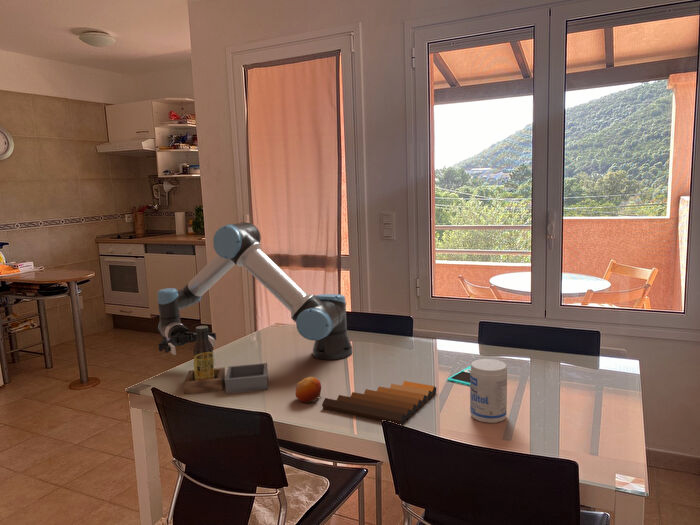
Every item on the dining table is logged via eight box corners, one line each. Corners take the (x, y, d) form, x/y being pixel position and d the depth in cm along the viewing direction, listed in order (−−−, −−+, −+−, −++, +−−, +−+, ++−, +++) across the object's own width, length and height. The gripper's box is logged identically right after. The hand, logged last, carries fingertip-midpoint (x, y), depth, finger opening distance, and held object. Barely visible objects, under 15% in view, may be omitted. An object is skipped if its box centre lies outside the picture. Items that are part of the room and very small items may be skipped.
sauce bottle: (197, 390, 172) (192, 330, 170) (193, 384, 178) (188, 326, 175) (217, 385, 175) (212, 327, 172) (213, 380, 181) (208, 323, 178)
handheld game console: (498, 373, 176) (498, 369, 175) (474, 389, 164) (474, 384, 164) (471, 368, 182) (471, 364, 182) (446, 382, 170) (446, 378, 170)
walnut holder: (225, 377, 183) (224, 367, 183) (222, 389, 172) (221, 379, 171) (189, 380, 182) (188, 370, 181) (184, 393, 170) (183, 383, 169)
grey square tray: (267, 375, 183) (266, 362, 182) (267, 389, 170) (266, 376, 169) (229, 379, 181) (228, 366, 180) (226, 393, 168) (225, 380, 168)
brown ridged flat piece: (322, 411, 153) (400, 428, 140) (321, 400, 153) (400, 416, 140) (365, 382, 174) (436, 394, 161) (364, 372, 174) (436, 384, 161)
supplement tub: (464, 418, 143) (463, 365, 141) (480, 406, 150) (479, 356, 148) (498, 427, 137) (497, 372, 135) (513, 414, 144) (513, 362, 142)
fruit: (324, 401, 155) (309, 378, 155) (302, 413, 157) (288, 390, 157) (330, 390, 163) (316, 368, 163) (310, 402, 165) (296, 380, 165)
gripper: (211, 337, 206) (230, 350, 188) (144, 350, 193) (158, 365, 175) (209, 318, 205) (228, 329, 187) (141, 330, 192) (155, 343, 174)
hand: (194, 347), depth 181 cm, fingers open, 13 cm apart
